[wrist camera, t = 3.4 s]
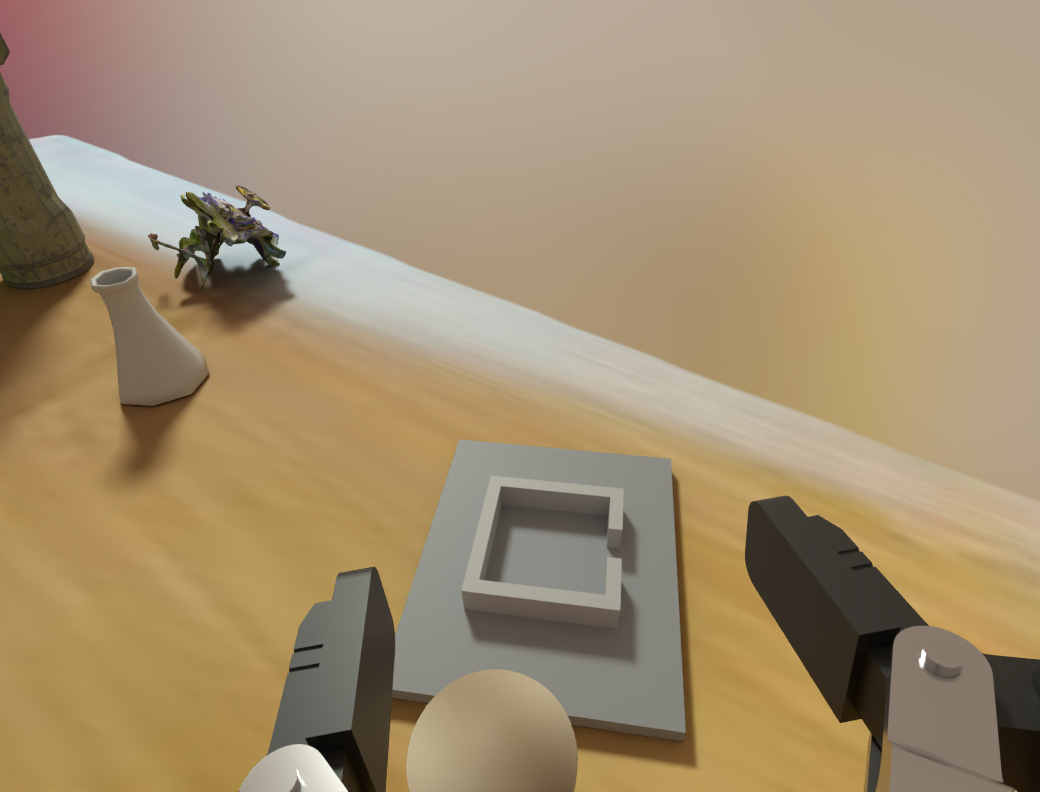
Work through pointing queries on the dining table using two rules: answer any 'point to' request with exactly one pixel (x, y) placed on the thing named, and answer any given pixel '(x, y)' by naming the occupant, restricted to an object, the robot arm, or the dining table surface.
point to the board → (552, 585)
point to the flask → (146, 344)
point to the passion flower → (223, 231)
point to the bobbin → (493, 738)
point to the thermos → (33, 212)
